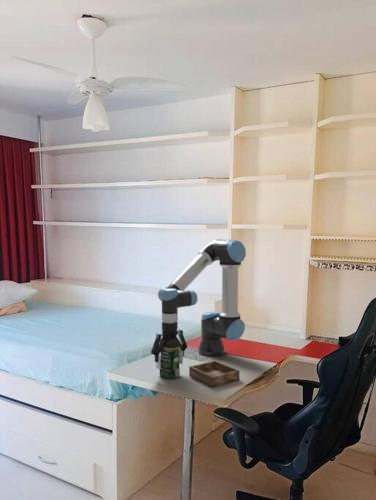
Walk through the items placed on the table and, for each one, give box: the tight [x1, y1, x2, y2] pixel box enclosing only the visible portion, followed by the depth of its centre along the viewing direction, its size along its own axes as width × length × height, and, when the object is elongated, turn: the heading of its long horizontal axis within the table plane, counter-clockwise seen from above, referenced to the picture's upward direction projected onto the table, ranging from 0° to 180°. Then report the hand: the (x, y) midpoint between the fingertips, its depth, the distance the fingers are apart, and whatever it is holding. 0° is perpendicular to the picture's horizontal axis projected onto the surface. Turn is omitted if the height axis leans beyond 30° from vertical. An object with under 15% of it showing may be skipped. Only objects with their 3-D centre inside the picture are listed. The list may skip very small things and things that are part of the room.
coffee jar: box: [159, 337, 181, 380], centre depth 194 cm, size 10×8×19 cm
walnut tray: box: [188, 360, 240, 389], centre depth 192 cm, size 16×18×4 cm
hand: (169, 366), depth 194 cm, fingers open, 12 cm apart
